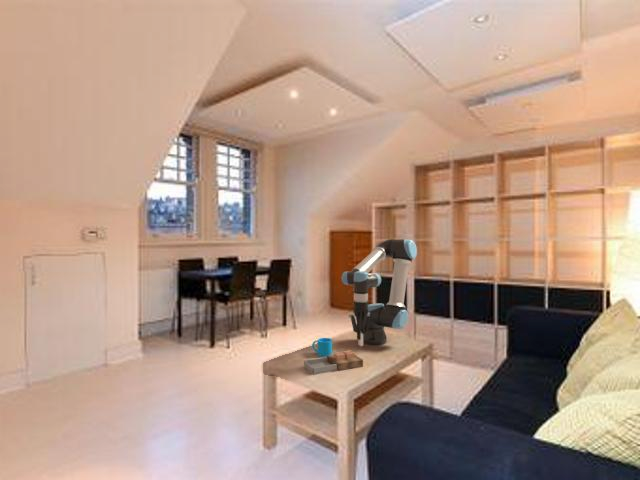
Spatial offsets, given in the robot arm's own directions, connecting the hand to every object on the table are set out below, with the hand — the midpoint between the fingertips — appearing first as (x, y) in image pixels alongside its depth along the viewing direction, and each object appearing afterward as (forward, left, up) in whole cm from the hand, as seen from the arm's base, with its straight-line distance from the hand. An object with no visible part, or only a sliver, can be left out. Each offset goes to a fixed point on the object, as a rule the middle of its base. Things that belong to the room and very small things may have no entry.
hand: (360, 345), depth 209 cm
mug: (+14, -20, -9) cm, 26 cm away
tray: (+23, 0, -9) cm, 25 cm away
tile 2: (+7, 0, -5) cm, 9 cm away
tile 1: (+13, 0, -5) cm, 14 cm away
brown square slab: (+10, 0, -9) cm, 13 cm away
